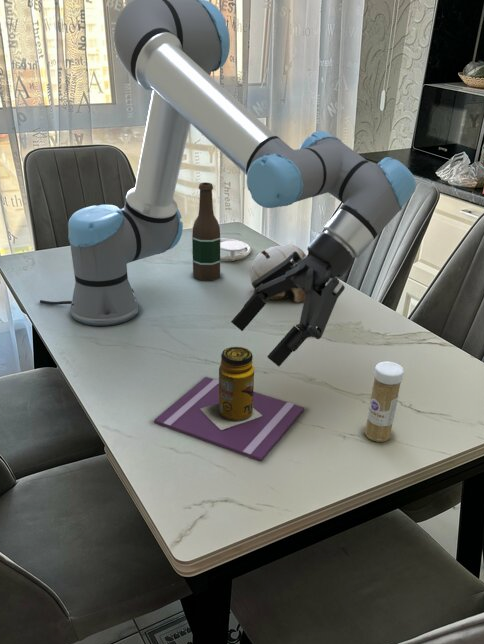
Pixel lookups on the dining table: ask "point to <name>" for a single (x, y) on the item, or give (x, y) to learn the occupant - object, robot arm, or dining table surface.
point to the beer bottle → (206, 238)
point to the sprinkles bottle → (383, 400)
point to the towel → (240, 438)
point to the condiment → (234, 390)
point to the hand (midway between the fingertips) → (253, 343)
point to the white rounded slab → (233, 248)
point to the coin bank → (271, 260)
